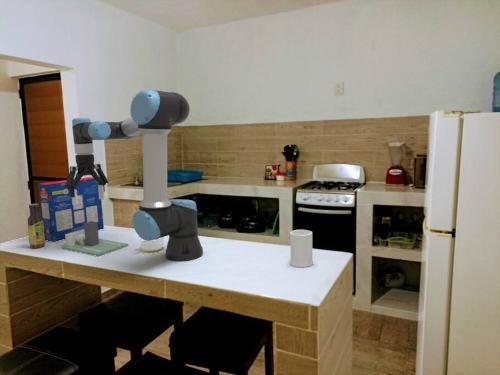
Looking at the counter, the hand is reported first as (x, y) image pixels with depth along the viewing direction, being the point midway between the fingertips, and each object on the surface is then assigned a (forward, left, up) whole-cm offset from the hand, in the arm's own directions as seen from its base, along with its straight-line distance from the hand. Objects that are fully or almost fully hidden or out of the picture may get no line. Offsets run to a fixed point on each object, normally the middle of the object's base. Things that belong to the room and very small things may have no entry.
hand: (89, 202), depth 166 cm
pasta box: (+28, -11, -21) cm, 37 cm away
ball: (+8, 0, -18) cm, 19 cm away
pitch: (-1, 0, -21) cm, 21 cm away
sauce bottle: (+24, +11, -21) cm, 34 cm away
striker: (+2, 0, -19) cm, 19 cm away
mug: (-93, -22, -21) cm, 98 cm away
